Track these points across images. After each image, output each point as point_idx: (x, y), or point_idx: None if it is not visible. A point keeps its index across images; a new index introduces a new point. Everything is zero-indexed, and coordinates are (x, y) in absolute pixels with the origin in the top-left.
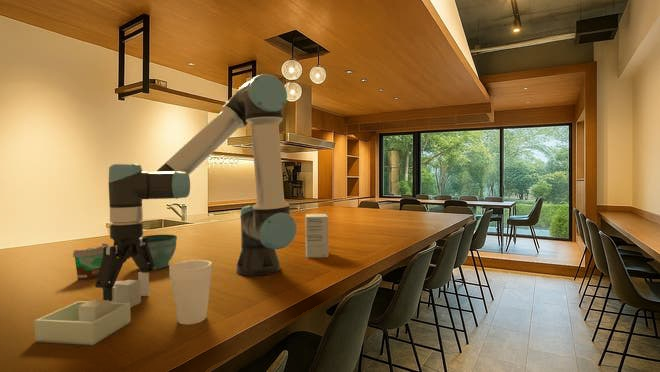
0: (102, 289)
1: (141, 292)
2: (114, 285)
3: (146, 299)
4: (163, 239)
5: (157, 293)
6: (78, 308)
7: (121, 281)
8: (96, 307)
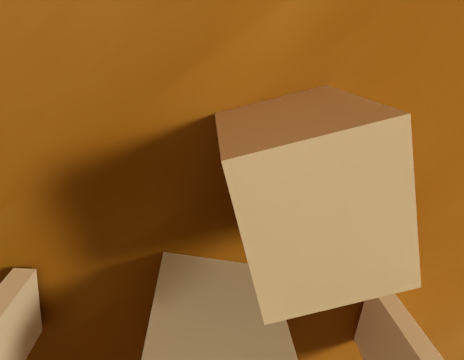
0: (219, 147)
1: (375, 318)
2: (254, 281)
3: (302, 350)
4: None
5: None
6: None
7: (386, 286)
8: None
